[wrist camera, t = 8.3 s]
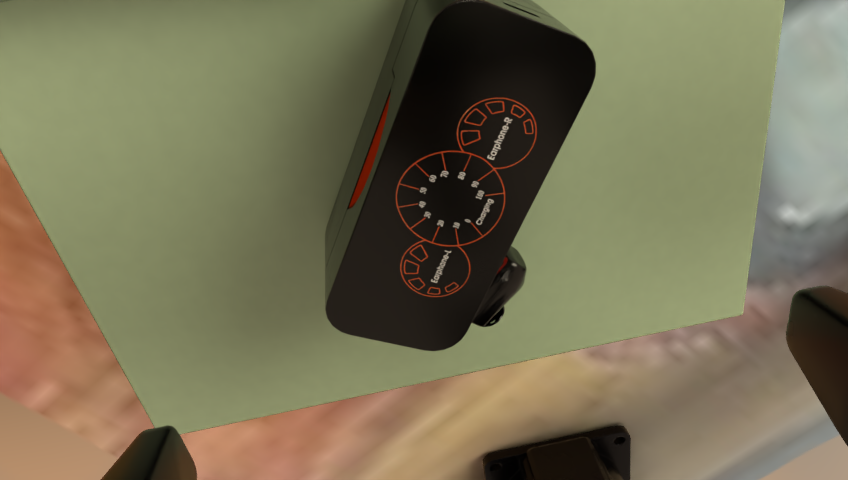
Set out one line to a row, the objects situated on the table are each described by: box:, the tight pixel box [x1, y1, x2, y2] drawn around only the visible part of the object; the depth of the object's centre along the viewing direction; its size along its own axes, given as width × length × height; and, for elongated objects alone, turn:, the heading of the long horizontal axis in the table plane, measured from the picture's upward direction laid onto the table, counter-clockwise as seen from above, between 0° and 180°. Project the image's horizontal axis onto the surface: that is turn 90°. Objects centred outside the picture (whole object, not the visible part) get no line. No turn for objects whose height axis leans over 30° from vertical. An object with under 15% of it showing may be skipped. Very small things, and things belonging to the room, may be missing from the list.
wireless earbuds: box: [325, 0, 596, 351], centre depth 13 cm, size 5×7×3 cm, turn 159°
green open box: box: [0, 0, 785, 435], centre depth 17 cm, size 12×16×7 cm
